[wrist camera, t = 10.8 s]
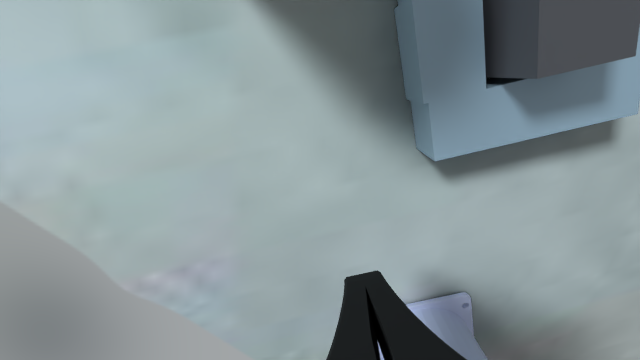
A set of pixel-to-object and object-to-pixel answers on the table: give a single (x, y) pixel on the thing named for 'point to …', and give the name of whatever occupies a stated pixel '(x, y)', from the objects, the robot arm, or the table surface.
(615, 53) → the plug
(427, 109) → the socket plate
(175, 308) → the table surface
